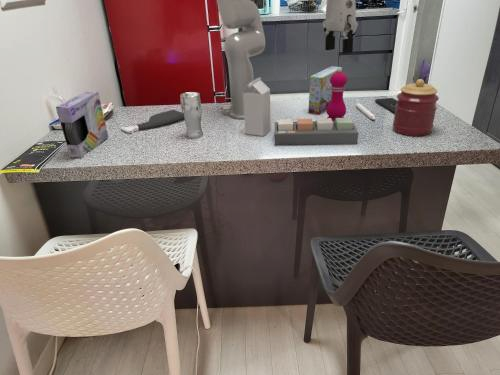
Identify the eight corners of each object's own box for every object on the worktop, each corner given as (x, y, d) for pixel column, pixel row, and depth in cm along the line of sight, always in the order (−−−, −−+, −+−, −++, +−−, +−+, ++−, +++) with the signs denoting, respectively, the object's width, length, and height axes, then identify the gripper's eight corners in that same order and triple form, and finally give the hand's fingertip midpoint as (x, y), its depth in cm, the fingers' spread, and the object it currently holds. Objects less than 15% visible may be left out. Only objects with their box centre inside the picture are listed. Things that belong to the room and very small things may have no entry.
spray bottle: (187, 120, 152) (131, 138, 138) (173, 115, 159) (119, 131, 145) (186, 113, 150) (130, 130, 137) (172, 108, 157) (117, 124, 144)
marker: (376, 121, 140) (377, 115, 139) (371, 122, 140) (372, 116, 139) (360, 107, 156) (360, 102, 155) (355, 108, 156) (355, 102, 155)
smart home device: (396, 113, 143) (374, 99, 161) (396, 117, 144) (373, 102, 162) (417, 111, 144) (392, 97, 162) (416, 115, 145) (392, 101, 162)
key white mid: (317, 134, 124) (317, 123, 123) (315, 129, 129) (316, 118, 127) (332, 133, 124) (333, 123, 122) (330, 128, 128) (331, 118, 127)
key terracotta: (297, 134, 125) (297, 123, 123) (296, 129, 129) (297, 118, 127) (312, 134, 125) (313, 123, 123) (311, 129, 129) (311, 118, 127)
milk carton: (270, 130, 137) (269, 77, 128) (263, 136, 131) (261, 82, 122) (253, 127, 140) (251, 76, 130) (245, 134, 134) (242, 81, 125)
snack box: (320, 115, 149) (322, 77, 141) (307, 113, 152) (308, 76, 144) (340, 101, 164) (342, 66, 157) (328, 100, 167) (330, 65, 159)
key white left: (278, 135, 125) (278, 124, 124) (278, 129, 130) (278, 119, 128) (293, 134, 125) (293, 123, 123) (292, 129, 129) (292, 119, 128)
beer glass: (196, 130, 140) (191, 90, 132) (208, 134, 135) (204, 93, 128) (181, 136, 136) (175, 95, 128) (192, 140, 131) (187, 98, 124)
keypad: (274, 145, 124) (274, 133, 122) (274, 132, 134) (274, 121, 132) (357, 144, 122) (358, 132, 120) (350, 131, 132) (351, 119, 130)
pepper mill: (345, 125, 137) (350, 70, 128) (325, 125, 139) (328, 70, 129) (345, 119, 143) (349, 65, 134) (326, 118, 145) (329, 65, 135)
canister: (385, 131, 130) (392, 80, 122) (401, 121, 138) (409, 73, 130) (423, 139, 122) (433, 85, 114) (437, 128, 131) (448, 77, 122)
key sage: (336, 133, 124) (337, 122, 122) (334, 128, 128) (335, 118, 126) (352, 133, 124) (353, 122, 122) (349, 128, 128) (350, 117, 126)
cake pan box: (81, 160, 121) (65, 106, 112) (67, 159, 122) (50, 106, 113) (110, 138, 137) (99, 90, 129) (98, 137, 138) (85, 90, 129)
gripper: (369, -13, 103) (365, 52, 110) (335, -11, 117) (333, 47, 125) (346, -11, 100) (343, 55, 108) (314, -9, 115) (314, 50, 123)
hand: (338, 51), depth 117 cm, fingers open, 9 cm apart
